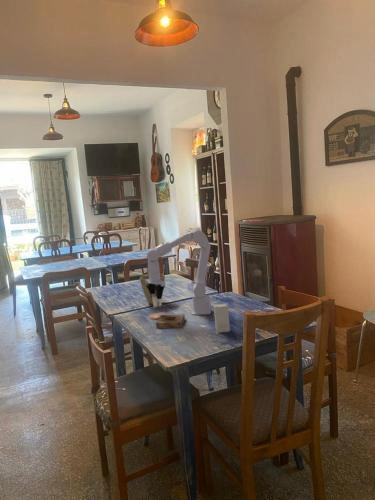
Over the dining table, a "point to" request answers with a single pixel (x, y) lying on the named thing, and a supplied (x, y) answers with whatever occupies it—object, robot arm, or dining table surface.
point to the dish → (156, 316)
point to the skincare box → (221, 318)
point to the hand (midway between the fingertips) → (156, 298)
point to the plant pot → (145, 289)
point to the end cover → (156, 300)
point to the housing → (170, 321)
